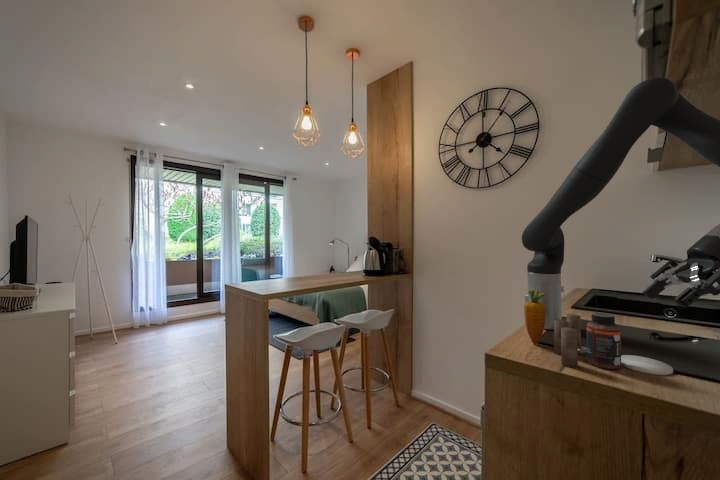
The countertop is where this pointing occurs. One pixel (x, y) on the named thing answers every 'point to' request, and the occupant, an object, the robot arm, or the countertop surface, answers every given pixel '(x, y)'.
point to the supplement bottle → (604, 341)
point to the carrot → (534, 316)
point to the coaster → (646, 365)
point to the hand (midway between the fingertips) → (662, 299)
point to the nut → (582, 351)
